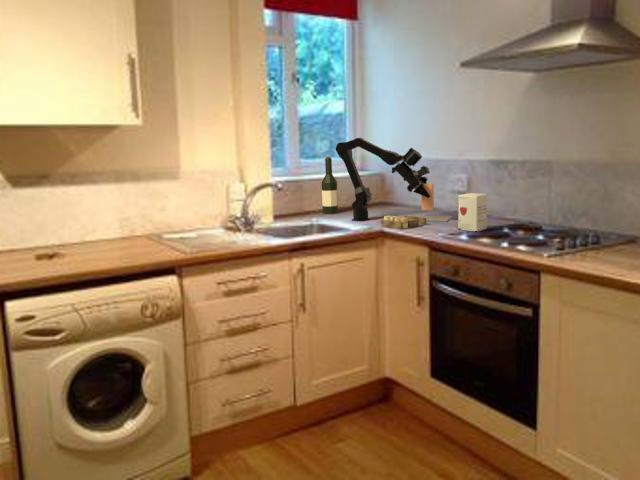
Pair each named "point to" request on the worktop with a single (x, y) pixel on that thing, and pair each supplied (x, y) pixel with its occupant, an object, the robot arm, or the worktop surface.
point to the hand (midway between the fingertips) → (430, 196)
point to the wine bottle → (329, 190)
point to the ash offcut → (390, 218)
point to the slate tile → (436, 218)
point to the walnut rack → (399, 225)
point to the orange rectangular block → (428, 202)
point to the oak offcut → (402, 219)
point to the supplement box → (472, 212)
